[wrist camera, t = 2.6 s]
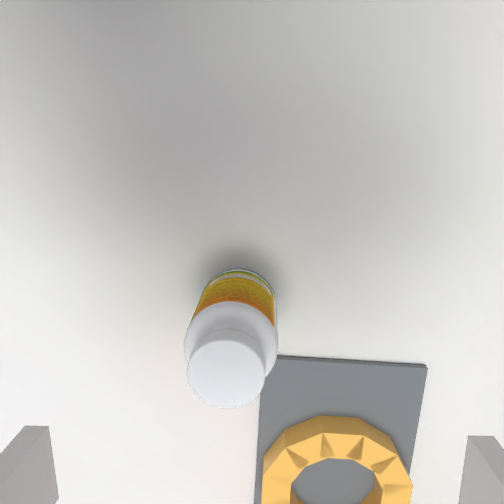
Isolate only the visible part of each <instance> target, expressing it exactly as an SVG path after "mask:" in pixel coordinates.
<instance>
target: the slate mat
mask: <svg viewBox="0 0 504 504" xmlns="http://www.w3.org/2000/svg"><path fill="white" fill-rule="evenodd" d="M427 370H428V368H427V367H426V365H418V364H402V363H386V362H370V361H354V360H338V359H322V358H306V357H290V356H277V357H276V361H275V364H274V366H273V368H272V370H271V371H270V373H269V374H268V375H267V376H266V377H265V382H264V385H263V388H262V390H261V402H260V418H259V435H258V451H257V468H256V485H255V501H254V504H261V489H262V474H263V457H264V455H265V454H266V452H267V451H268V450H269V449H270V447H271V446H272V445H273V444H274V442H275V441H276V440H277V438H278V437H279V436H280V435H281V433H282V432H283V431H284V429H287V428H289V427H292V426H294V425H297V424H299V423H301V422H304V421H306V420H309V419H311V418H314V417H316V416H319V415H325V416H341V417H356V418H360V419H361V420H363V421H365V422H366V423H368V424H370V425H371V426H373V427H375V428H376V429H378V430H380V431H381V432H383V433H385V434H386V435H388V436H390V438H391V440H392V442H393V444H394V446H395V448H396V450H397V452H398V454H399V456H400V458H401V460H402V462H403V464H404V466H405V468H406V470H407V473H408V475H409V473H410V467H411V462H412V456H413V450H414V444H415V439H416V433H417V427H418V421H419V416H420V410H421V404H422V399H423V393H424V387H425V381H426V376H427ZM374 482H375V474H374V472H373V471H371V470H370V469H368V468H366V467H365V466H363V465H361V464H360V463H358V462H356V461H354V460H350V459H336V458H326V459H324V460H321V461H319V462H316V463H314V464H311V465H309V466H306V467H305V468H304V469H303V470H302V471H301V472H300V474H299V475H298V476H297V477H296V478H295V480H294V481H293V482H292V483H291V488H292V490H293V492H294V493H295V495H296V497H297V498H298V500H300V501H302V502H303V503H305V504H360V503H361V502H362V501H363V500H364V499H365V498H366V496H367V495H368V494H369V493H370V492H371V491H372V490H373V489H374Z"/></svg>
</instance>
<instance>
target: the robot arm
mask: <svg viewBox="0 0 504 504" xmlns="http://www.w3.org/2000/svg"><path fill="white" fill-rule="evenodd" d="M58 498H59V496H58V489H57V482H56V475H55V468H54V461H53V454H52V447H51V440H50V433H49V426H24V427H23V429H22V430H21V431H20V432H19V433H18V434H17V436H16V437H15V438H14V439H13V440H12V441H11V442H10V444H9V445H8V446H7V447H6V448H5V449H4V450H3V452H2V453H1V454H0V504H55V503H56V501H57V500H58ZM458 504H504V449H503V448H502V447H501V445H500V444H499V443H498V441H497V440H496V439H495V437H494V436H468V440H467V446H466V453H465V460H464V467H463V474H462V481H461V488H460V495H459V502H458Z"/></svg>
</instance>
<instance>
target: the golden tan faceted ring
mask: <svg viewBox="0 0 504 504" xmlns="http://www.w3.org/2000/svg"><path fill="white" fill-rule="evenodd" d="M326 458H336V459H350V460H354V461H356V462H358V463H360V464H361V465H363V466H365V467H366V468H368V469H370V470H371V471H373V472H374V474H375V482H374V489H373V490H372V491H371V492H370V493H369V494H368V495H367V496H366V498H365V499H364V500H363V501H362V502H361V503H360V504H410V499H411V493H412V487H413V485H412V482H411V480H410V478H409V475H408V473H407V470H406V468H405V466H404V464H403V462H402V460H401V458H400V456H399V454H398V452H397V450H396V448H395V446H394V444H393V442H392V440H391V438H390V436H388V435H386V434H385V433H383V432H381V431H380V430H378V429H376V428H375V427H373V426H371V425H370V424H368V423H366V422H365V421H363V420H361V419H360V418H356V417H341V416H325V415H319V416H316V417H314V418H311V419H309V420H306V421H304V422H301V423H299V424H297V425H294V426H292V427H289V428H287V429H284V431H283V432H282V433H281V435H280V436H279V437H278V438H277V440H276V441H275V442H274V444H273V445H272V446H271V447H270V449H269V450H268V451H267V452H266V454H265V455H264V457H263V474H262V489H261V504H305V503H303V502H302V501H300V500H298V498H297V497H296V495H295V493H294V492H293V490H292V488H291V483H292V482H293V481H294V480H295V478H296V477H297V476H298V475H299V474H300V472H301V471H302V470H303V469H304V468H305V467H306V466H309V465H311V464H314V463H316V462H319V461H321V460H324V459H326Z"/></svg>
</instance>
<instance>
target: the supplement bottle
mask: <svg viewBox="0 0 504 504" xmlns="http://www.w3.org/2000/svg"><path fill="white" fill-rule="evenodd" d="M277 350H278V334H277V310H276V300H275V296H274V293H273V291H272V289H271V287H270V286H269V284H268V283H267V282H266V281H265V280H264V279H263V278H262V277H260V276H259V275H257V274H255V273H253V272H251V271H247V270H239V269H236V270H229V271H225V272H223V273H221V274H219V275H217V276H216V277H214V278H213V279H212V280H211V281H210V282H209V283H208V285H207V286H206V288H205V289H204V291H203V294H202V296H201V299H200V301H199V303H198V306H197V308H196V311H195V313H194V315H193V318H192V320H191V322H190V324H189V327H188V329H187V332H186V335H185V340H184V353H185V358H186V361H187V364H188V366H187V377H188V382H189V385H190V387H191V389H192V391H193V392H194V393H195V394H196V396H197V397H198V398H199V399H201V400H202V401H203V402H205V403H206V404H209V405H211V406H213V407H217V408H221V409H234V408H239V407H242V406H244V405H246V404H248V403H250V402H251V401H253V400H254V399H255V398H256V397H257V396H258V394H259V393H260V392H261V390H262V388H263V385H264V382H265V377H266V376H267V375H268V374H269V373H270V371H271V370H272V368H273V366H274V364H275V361H276V357H277Z"/></svg>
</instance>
